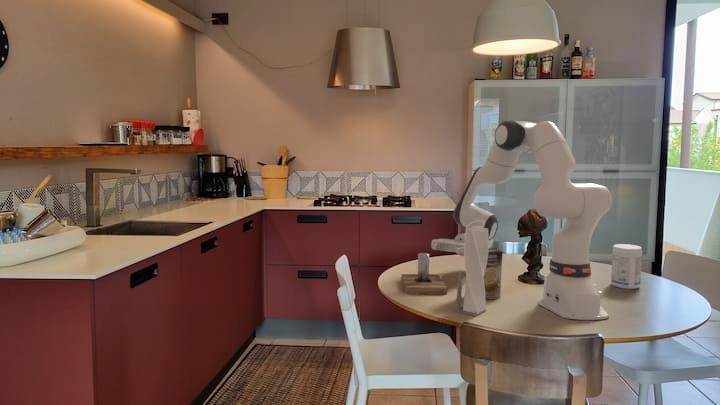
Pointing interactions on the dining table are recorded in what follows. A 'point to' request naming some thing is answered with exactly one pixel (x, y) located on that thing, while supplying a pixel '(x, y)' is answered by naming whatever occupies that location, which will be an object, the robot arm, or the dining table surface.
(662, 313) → the dining table surface
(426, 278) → the steel pin
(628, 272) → the supplement tub
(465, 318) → the dining table surface
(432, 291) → the slot plate
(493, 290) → the coffee box
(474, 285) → the skyscraper
